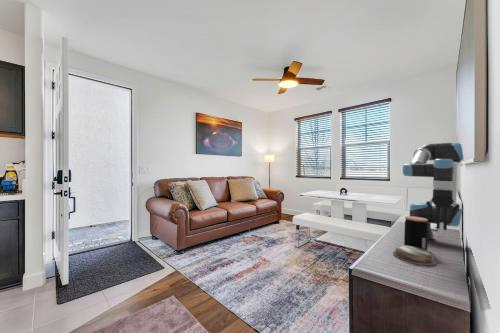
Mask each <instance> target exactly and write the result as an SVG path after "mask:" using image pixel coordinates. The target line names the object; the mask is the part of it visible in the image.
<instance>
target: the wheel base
mask: <svg viewBox="0 0 500 333" xmlns="http://www.w3.org/2000/svg"><path fill="white" fill-rule="evenodd" d="M392 255H393V256H394V257H395V258H397V259H399V260H401V261H404V262H406V263H410V264H413V265H418V266H424V267H425V266H428V267H429V266H431V267H432V266H435V265H437V261H436V259H435V258H434V261H433V262H432V263H419V262H414V261H410V260H407V259H404V258H401V257H399V256H398V255H396V250H394V251H393V252H392Z"/></svg>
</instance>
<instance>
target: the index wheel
mask: <svg viewBox="0 0 500 333" xmlns="http://www.w3.org/2000/svg"><path fill="white" fill-rule="evenodd" d="M425 245H426V238H422V248H418V247H414V246H407V245H401V244H399V245H396V246H395V251H396V255H398V256H399V257H401V258H404V259H407V260H410V261H414V262H419V263H432V262H433V261H434V259H435V257H434V256H435V254H434V253H433V252H432V251H430V250H428V249H427V250H425Z"/></svg>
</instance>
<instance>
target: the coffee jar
mask: <svg viewBox="0 0 500 333" xmlns="http://www.w3.org/2000/svg"><path fill="white" fill-rule="evenodd" d="M404 218H405V220H404V235H403V236H404V238H403V239H404V243H403V244H404V245H407V246H414V247H418V248H422V238H426V245H425V250H428V240H427V237H428V224H427V222H428V219H425V218H421V217H414V216H410V215H406V216H405V217H404Z"/></svg>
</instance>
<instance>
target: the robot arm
mask: <svg viewBox="0 0 500 333" xmlns="http://www.w3.org/2000/svg"><path fill="white" fill-rule="evenodd" d="M463 152H464V151H463V146H462V144H461V143H459V142H439V143H427V144H423V145H421V146H420V147H417V149H415V150H414V152H413V157H412V159H411V161H410V162H409V163H404V164H403V165H402V174H403V176H405V177H414V178H415V177H418V178H419V177H421V178H433V180H432V188H433V190H432V198H431V200H428V201H426V202H413V203H411V204H410V205H409V216H414V217H421V218H425V219H428V222H427V224H428V237H427V239H433V238H434V236H435V235H434V233H433V229H432V227H431V224H435V225H436V229H438V230H439V231H438V232H439V233H438V234H439V236H438V237H444V236H445V235H444V234H445V233H444V232H445V231H447V229H448V227H459V226H460V224H461V219H462V214H463V208H460V204H459V203H457V185H458V184H457V182H458V181H457V180H458V177H457V176H458V166H460V164H461V161H464V160H463V159H464V154H463ZM428 161H433V163H428ZM433 204H434V205H433ZM434 239H435V238H434ZM434 239H433V240H434Z"/></svg>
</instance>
